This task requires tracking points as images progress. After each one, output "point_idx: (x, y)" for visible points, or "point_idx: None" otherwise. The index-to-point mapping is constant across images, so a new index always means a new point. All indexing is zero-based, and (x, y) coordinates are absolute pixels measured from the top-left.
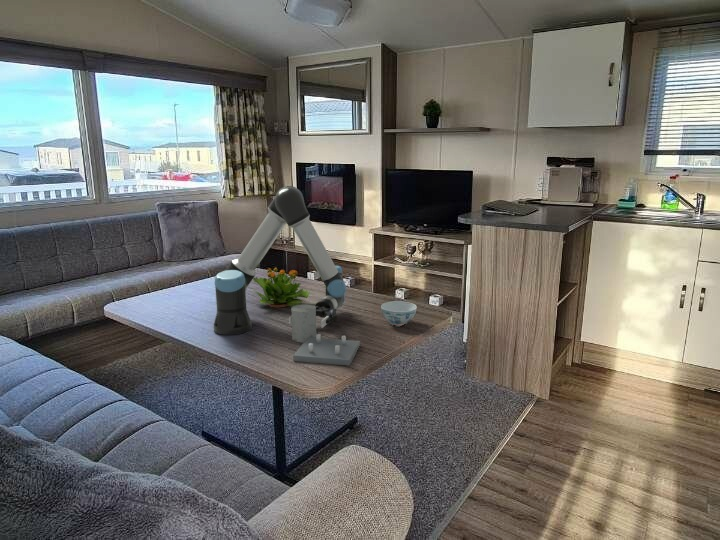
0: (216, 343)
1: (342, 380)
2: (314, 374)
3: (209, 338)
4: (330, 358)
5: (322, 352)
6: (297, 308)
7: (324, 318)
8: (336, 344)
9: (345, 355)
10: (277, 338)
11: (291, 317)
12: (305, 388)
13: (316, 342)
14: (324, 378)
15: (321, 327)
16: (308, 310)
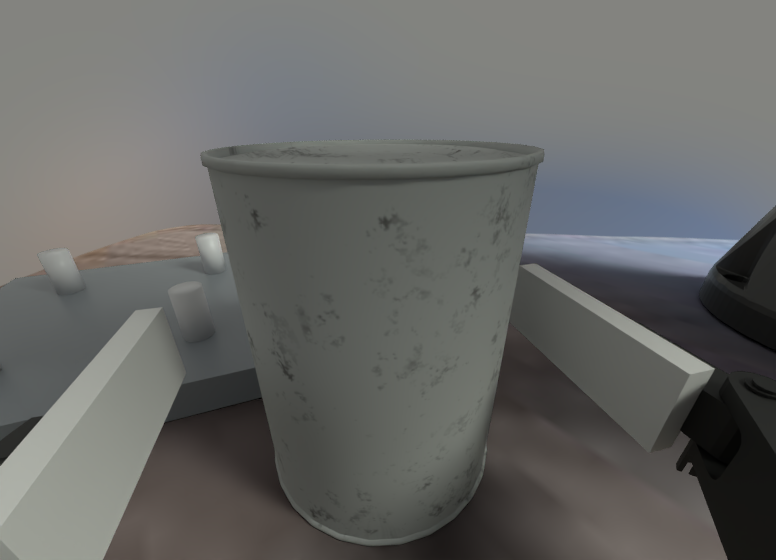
0: (610, 253)
1: (84, 254)
2: (181, 249)
3: (685, 260)
4: (115, 266)
5: (157, 280)
6: (434, 151)
7: (101, 375)
8: (54, 352)
9: (23, 293)
10: (516, 347)
11: (532, 281)
12: (193, 226)
13: (213, 327)
14: (146, 247)
15: (178, 372)
16: (280, 151)
